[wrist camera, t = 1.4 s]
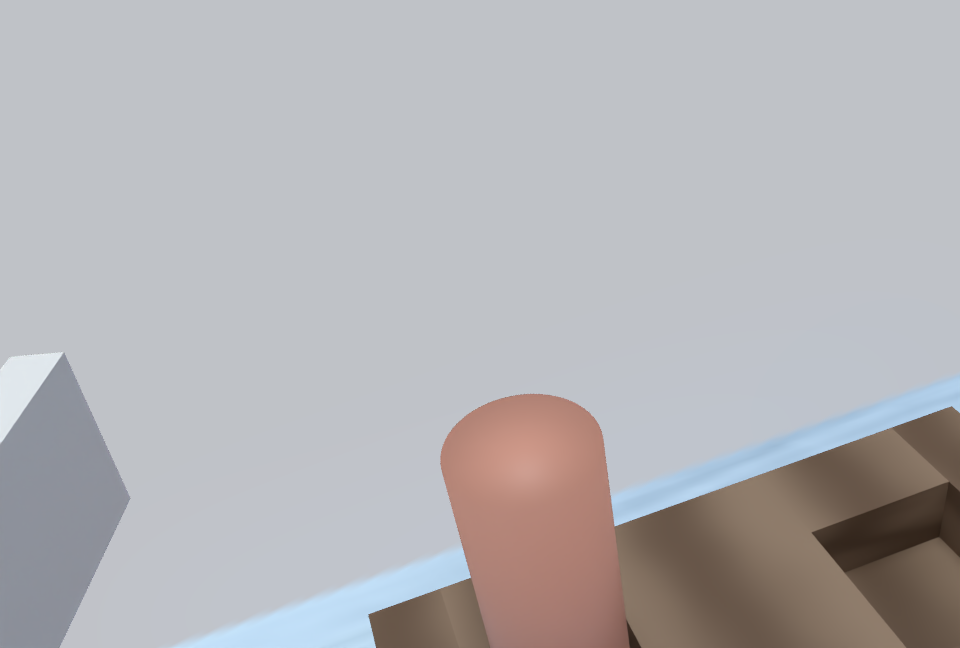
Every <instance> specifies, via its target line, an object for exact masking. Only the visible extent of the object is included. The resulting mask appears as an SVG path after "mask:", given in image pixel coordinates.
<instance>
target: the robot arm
mask: <svg viewBox="0 0 960 648" xmlns="http://www.w3.org/2000/svg"><path fill="white" fill-rule="evenodd" d="M129 500H130V496H129V494H128V492H127V490H126V488H125V485H124V483H123V481H122V479H121V477H120V475H119V472H118V470H117V468H116V466H115V464H114V461H113V459H112V457H111V455H110V452H109V450H108V448H107V446H106V444H105V441H104V439H103V437H102V435H101V433H100V431H99V428H98V426H97V424H96V422H95V420H94V417H93V415H92V413H91V411H90V408H89V406H88V404H87V402H86V400H85V398H84V395H83V393H82V391H81V389H80V387H79V385H78V382H77V380H76V378H75V375H74V373H73V371H72V369H71V367H70V364H69V362H68V360H67V358H66V356H65V353H64V352H62V353H61V352H60V353H49V354H37V355H25V356H14V357H10V358H9V359H8V360H7V362H6V363H5V364H4V366H3V367H2V368H1V369H0V648H59V647H60V645H61V643H62V641H63V639H64V637H65V635H66V633H67V631H68V629H69V626H70V624H71V622H72V620H73V618H74V616H75V614H76V612H77V609H78V607H79V605H80V603H81V601H82V599H83V597H84V595H85V593H86V591H87V588H88V586H89V584H90V582H91V580H92V578H93V576H94V574H95V572H96V569H97V568H98V565H99V563H100V561H101V559H102V557H103V555H104V553H105V550H106V549H107V546H108V544H109V542H110V540H111V538H112V536H113V534H114V531H115V530H116V527H117V525H118V523H119V521H120V519H121V517H122V515H123V513H124V511H125V509H126V507H127V504H128V502H129Z"/></svg>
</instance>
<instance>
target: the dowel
mask: <svg viewBox="0 0 960 648" xmlns="http://www.w3.org/2000/svg"><path fill="white" fill-rule="evenodd" d="M441 469H442V473H443V477H444V480H445V484H446V488H447V491H448V495H449V499H450V502H451V506H452V509H453V513H454V517H455V521H456V524H457V528H458V531H459V535H460V539H461V542H462V546H463V550H464V553H465V557H466V561H467V564H468V568H469V572H470V575H471V579H472V583H473V586H474V590H475V594H476V597H477V601H478V604H479V608H480V612H481V615H482V619H483V623H484V626H485V630H486V634H487V637H488V641H489V645H490V648H630V645H629V637H628V630H627V622H626V614H625V606H624V598H623V590H622V582H621V575H620V567H619V559H618V551H617V543H616V535H615V527H614V519H613V512H612V504H611V496H610V488H609V480H608V472H607V465H606V457H605V449H604V441H603V436H602V431H601V429H600V427H599V424H598V423H597V421H596V420H595V418H594V417H593V416H592V415H591V414H590V413H589V412H588V411H586V410H585V409H584V408H582V407H581V406H579V405H578V404H576V403H574V402H572V401H569V400H567V399H564V398H560V397H556V396H551V395H543V394H524V395H515V396H510V397H505V398H502V399H499V400H495V401H492V402H490V403H487V404H485V405H483V406H481V407H479V408H477V409H475V410H474V411H472V412H471V413H469V414H468V415H466V416H465V417H464V418H463V419H462V420H461V421H459V422H458V423H457V424H456V425H455V427H454V428H453V429H452V430H451V432H450V433H449V434H448V436H447V438H446V440H445V442H444V444H443V447H442V451H441Z"/></svg>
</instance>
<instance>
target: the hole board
mask: <svg viewBox="0 0 960 648" xmlns="http://www.w3.org/2000/svg"><path fill="white" fill-rule="evenodd" d="M615 535H616V543H617V551H618V559H619V567H620V575H621V582H622V590H623V598H624V606H625V614H626V622H627V630H628V637H629V645H630V648H960V413H959V412H958V411H957V410H955V409H954V408H953V407H952V406H951V407H949V408H946V409H943V410H940V411H937V412H935V413H932V414H929V415H926V416H923V417H921V418H918V419H915V420H912V421H909V422H907V423H904V424H901V425H898V426H895V427H893V428H890V429H887V430H884V431H881V432H879V433H876V434H873V435H870V436H867V437H864V438H862V439H859V440H856V441H853V442H850V443H848V444H845V445H842V446H839V447H836V448H834V449H831V450H828V451H825V452H822V453H820V454H817V455H814V456H811V457H808V458H806V459H803V460H800V461H797V462H794V463H792V464H789V465H786V466H783V467H780V468H778V469H775V470H772V471H769V472H766V473H764V474H761V475H758V476H755V477H752V478H750V479H747V480H744V481H741V482H738V483H736V484H733V485H730V486H727V487H724V488H722V489H719V490H716V491H713V492H710V493H708V494H705V495H702V496H699V497H696V498H694V499H691V500H688V501H685V502H682V503H680V504H677V505H674V506H671V507H668V508H665V509H663V510H660V511H657V512H654V513H651V514H649V515H646V516H643V517H640V518H637V519H635V520H632V521H629V522H626V523H623V524H621V525H618V526H615ZM368 615H369V619H370V623H371V628H372V632H373V636H374V640H375V645H376V648H490V645H489V641H488V637H487V634H486V630H485V626H484V623H483V619H482V615H481V612H480V608H479V604H478V601H477V597H476V594H475V590H474V586H473V583H472V579H471V578H469V579H466V580H464V581H461V582H458V583H455V584H452V585H450V586H447V587H444V588H441V589H438V590H436V591H433V592H430V593H427V594H424V595H422V596H419V597H416V598H413V599H410V600H408V601H405V602H402V603H399V604H396V605H394V606H391V607H388V608H385V609H382V610H380V611H377V612H374V613H371V614H368Z"/></svg>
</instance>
